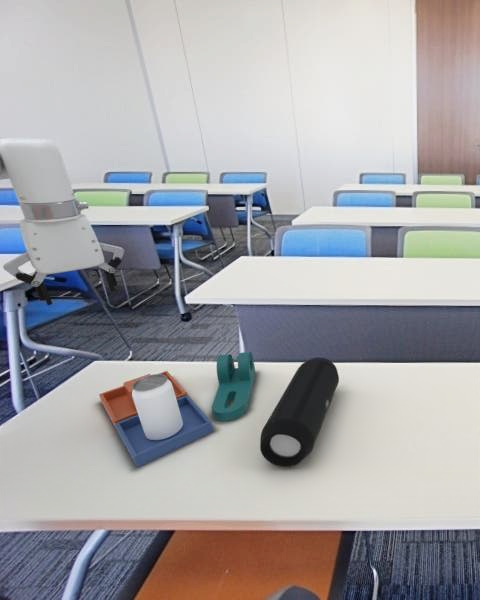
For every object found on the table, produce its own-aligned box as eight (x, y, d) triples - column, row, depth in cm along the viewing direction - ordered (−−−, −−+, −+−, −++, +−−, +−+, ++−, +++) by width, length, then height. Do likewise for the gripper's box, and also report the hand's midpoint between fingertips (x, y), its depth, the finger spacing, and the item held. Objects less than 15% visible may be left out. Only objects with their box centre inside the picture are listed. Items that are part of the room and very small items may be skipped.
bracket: (226, 377, 101) (220, 350, 98) (255, 373, 103) (250, 346, 100) (210, 423, 85) (203, 393, 82) (245, 418, 87) (239, 388, 84)
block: (135, 411, 87) (129, 392, 85) (129, 401, 90) (123, 382, 88) (162, 400, 91) (156, 382, 89) (155, 391, 94) (149, 373, 92)
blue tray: (137, 467, 74) (133, 457, 73) (118, 433, 81) (114, 423, 80) (213, 431, 83) (211, 422, 82) (190, 403, 91) (187, 394, 90)
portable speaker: (312, 471, 75) (307, 429, 71) (259, 470, 74) (250, 428, 70) (342, 389, 98) (339, 354, 94) (301, 388, 98) (297, 353, 94)
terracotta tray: (117, 431, 82) (113, 421, 81) (102, 403, 90) (98, 394, 89) (188, 402, 91) (186, 393, 90) (169, 379, 99) (167, 370, 98)
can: (169, 416, 86) (155, 369, 81) (190, 425, 84) (177, 377, 79) (138, 436, 80) (121, 386, 75) (160, 445, 78) (144, 395, 73)
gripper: (106, 202, 81) (129, 281, 88) (-20, 212, 69) (18, 302, 76) (115, 208, 77) (139, 290, 84) (-17, 220, 65) (23, 315, 71)
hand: (81, 296), depth 80 cm, fingers open, 9 cm apart
